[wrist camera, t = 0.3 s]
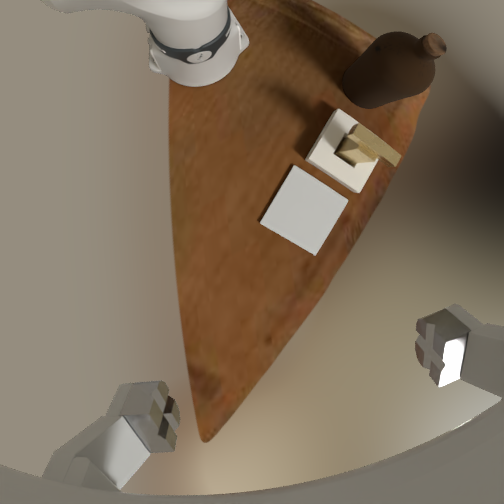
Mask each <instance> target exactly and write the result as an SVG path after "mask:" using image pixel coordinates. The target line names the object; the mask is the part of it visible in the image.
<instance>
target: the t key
mask: <svg viewBox="0 0 504 504" xmlns="http://www.w3.org/2000/svg"><path fill="white" fill-rule="evenodd" d="M333 154H334V155H336V156H337V157H339V158H340V159H342V160H343V161H344V162H346V163H347V164H354V163H366V162H375V160H376V159H379V160H380V161H381V162H383V163H384V164H385V165H386V166H388V167H396V165H397V163H398V161H399V159H400V157H401V155H400V154H399V153H397V152H396V151H395V150H394V149H392V148H391V147H390V146H389V145H387V144H386V143H385V142H384V141H382V140H381V139H380V138H379V137H377V136H376V135H375V134H373V133H372V132H371V131H369V130H368V129H367V128H365V127H364V126H363V125H361V124H360V123H358V124H355V125H353V126H352V128H351V130H350V131H349V133H348V135H347V137H346V138H343V139H341V141H340V143H339V145H338V146H337V148H336V150H335V151H334V153H333Z"/></svg>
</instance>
